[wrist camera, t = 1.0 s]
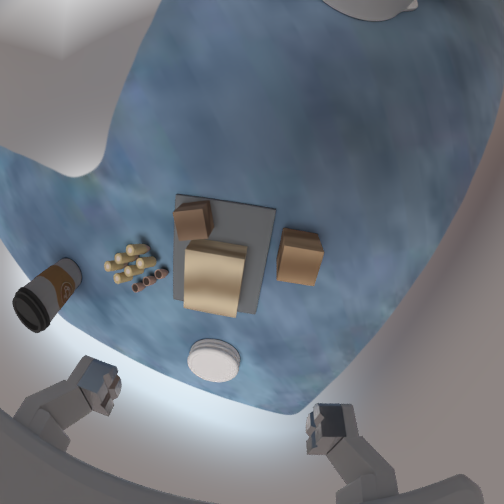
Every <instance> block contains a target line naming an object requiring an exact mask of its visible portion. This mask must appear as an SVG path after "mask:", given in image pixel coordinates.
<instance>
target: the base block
mask: <svg viewBox="0 0 504 504" xmlns="http://www.w3.org/2000/svg"><path fill="white" fill-rule="evenodd" d="M246 253H247V246H242V245H236V244H230V243H224V242H218V241H212V240H206V239H197V240H191V241H190V243H189V244H188V246H187V247H186V249H185V270H184V308H187V309H192V310H197V311H202V312H207V313H212V314H218V315H223V316H229V317H234V318H236V314H237V308H238V303H239V297H240V291H241V285H242V278H243V272H244V265H245V259H246Z"/></svg>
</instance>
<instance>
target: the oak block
mask: <svg viewBox="0 0 504 504" xmlns="http://www.w3.org/2000/svg"><path fill="white" fill-rule="evenodd" d="M323 255H324V251H323V248H322V245H321V242H320V239H319V237H318V234H316V233H310V232H305V231H299V230H294V229H288V228H283V231H282V236H281V241H280V245H279V250H278V255H277V280H278V281H284V282H291V283H297V284H303V285H310V286H314V284H315V281H316V278H317V275H318V271H319V268H320V265H321V262H322V258H323Z"/></svg>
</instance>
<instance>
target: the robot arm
mask: <svg viewBox="0 0 504 504" xmlns="http://www.w3.org/2000/svg"><path fill="white" fill-rule="evenodd" d="M323 1H324V2H325V3H326V4H328V5H329V6H331V7H332V8H334V9H336V10H338V11H339V12H341V13H344V14H346V15H348V16H351V17H354V18H357V19H361V20H367V21H384V20H388V19H391V18H393V17H395V16H396V15H397V14H399V13H400V12H402V11H413V10H415V9H416V8H417V7H418V3H417V0H323ZM117 373H118V370H117V367H116V366H113V365H110V364H107V363H105V362H102V361H99V360H97V359H94V358H92V357H89V356H87V355H85V356H84V357H82V359H81V360H80V362H79V363H78V365H77V366H76V368H75V369H74V371H73V372H72V374H71V375H70V377H69V378H68V380H67V381H66V380H63V381H61V382H59V383H56V384H54V385H52V386H50V387H48V388H46V389H44V390H42V391H39V392H37V393H35V394H33V395H30V396H28V397H26V398H25V400H24V401H23V403H22V404H21V406H20V408H19V409H18V411H17V412H16V414H15V416H14V417H13V418H12V417H11V416H10V415H8V414H7V413H6V412H4V411H3V410H2V409H1V408H0V504H217V503H211V502H205V501H200V500H195V499H190V498H186V497H181V496H177V495H173V494H169V493H165V492H162V491H158V490H155V489H151V488H148V487H145V486H142V485H139V484H136V483H133V482H130V481H127V480H125V479H122V478H119V477H117V476H115V475H112V474H110V473H107V472H105V471H103V470H100V469H98V468H96V467H94V466H91V465H89V464H87V463H85V462H83V461H81V460H79V459H77V458H75V457H73V456H72V455H70V454H68V453H66V450H67V447H68V445H69V443H70V438H69V437H68V436H67V435H66V433H65V432H64V431H63V430H65V429H66V428H68V427H69V426H71V425H72V424H74V423H75V422H77V421H78V420H80V419H81V418H83V417H84V416H86V415H87V414H89V413H90V412H91V411H92V410H93V411H96V412H98V413H101V414H103V415H106V416H109V415H110V413H111V410H112V408H113V406H114V403H113V400H114V399H116V398H117V397H118V396H119V394H120V391H121V379H120V377H119V376H118V375H117ZM306 433H307V434H308V436H309V439H308V440H307V441H306V442H307V454H309V455H326V456H327V458H328V459H329V461H330V462H331V463H332V465H333V466H334V468H335V469H336V470H337V472H338V473H339V475H340V476H341V477H342V479H343V480H344V482H345V483H346V484H347V486H345V487H343V488H342V489H340V490H338V491H337V492H336V504H484V499H483V494H482V491H481V489H480V487H479V486H478V485H477V484H476V483H475V482H473V481H472V480H471V479H470V478H468V477H467V476H465V475H463V474H458V475H455V476H452V477H450V478H447V479H445V480H442V481H440V482H437V483H434V484H431V485H428V486H425V487H422V488H419V489H416V490H413V491H409V492H406V493H402V494H399V493H398V488H397V481H396V476H395V471H394V469H393V468H392V467H391V466H390V465H389V463H388V462H387V461H386V460H385V459H384V458H383V457H382V456H381V455H380V454H379V453H378V452H377V451H376V450H375V449H374V448H373V447H372V446H371V445H370V444H369V443H368V442H367V441H366V440H365V439H364V438H363V437H362V436H359V434H358V428H357V423H356V418H355V413H354V408H353V405H352V404H322V403H320V404H319V403H317V404H315V406H314V407H313V412H311V413H310V414H309V416H308V417H307V422H306Z"/></svg>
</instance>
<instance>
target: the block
mask: <svg viewBox="0 0 504 504" xmlns="http://www.w3.org/2000/svg"><path fill="white" fill-rule="evenodd" d="M173 216H174V221H175V225H176V230H177V234H178V239H179V241H185V240H197V239H208V237H209V236H210V234H211V232H212V230H213V228H214V223H213V218H212V212H211V206H210V200H206V201H197V202H189V203H182V204H181V205H180V206H179V207H178V208H177V209H176V210H175V211H174V212H173Z"/></svg>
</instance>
